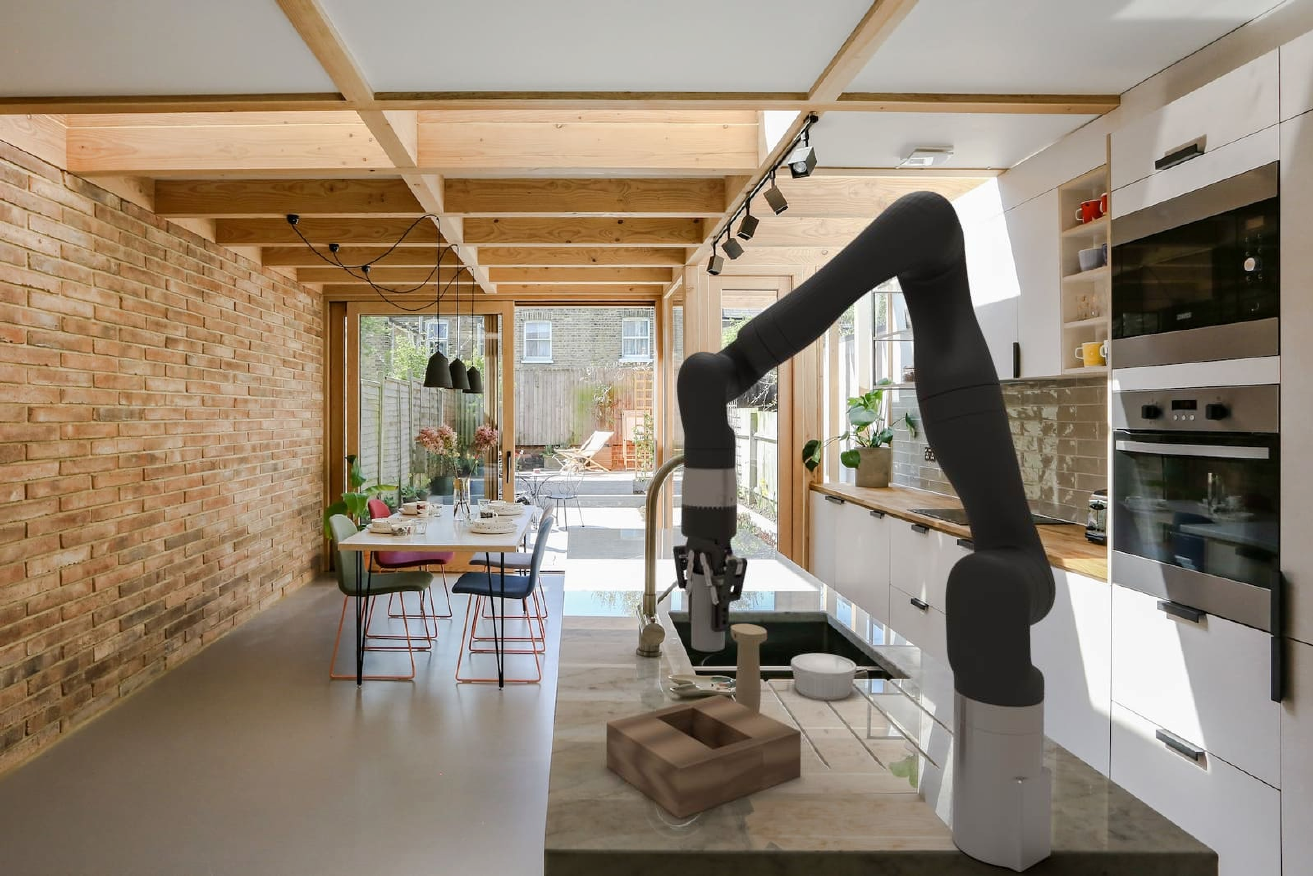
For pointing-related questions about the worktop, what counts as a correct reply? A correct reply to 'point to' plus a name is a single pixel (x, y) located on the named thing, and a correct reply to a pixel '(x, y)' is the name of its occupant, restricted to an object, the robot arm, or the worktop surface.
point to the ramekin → (823, 675)
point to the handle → (748, 664)
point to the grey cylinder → (704, 616)
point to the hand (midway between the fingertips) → (707, 626)
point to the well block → (702, 753)
